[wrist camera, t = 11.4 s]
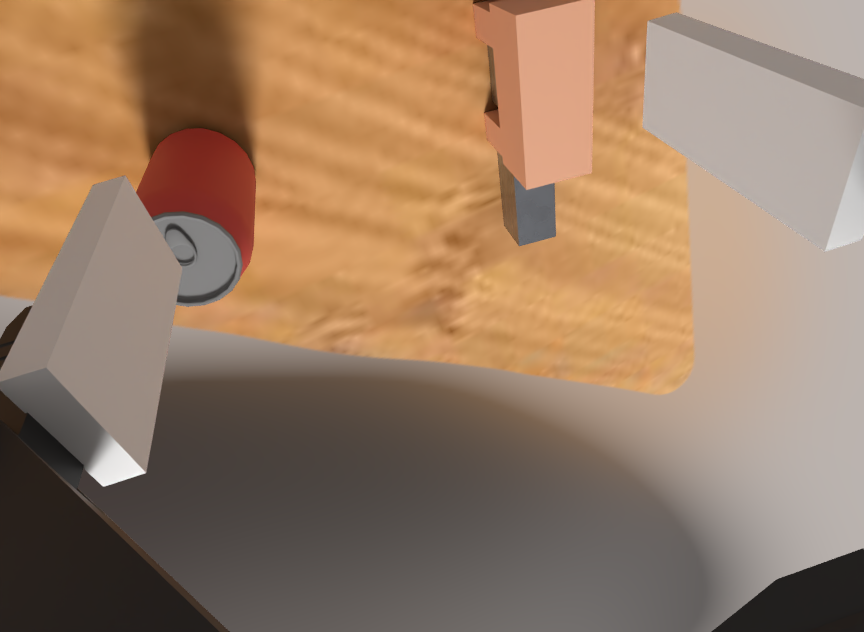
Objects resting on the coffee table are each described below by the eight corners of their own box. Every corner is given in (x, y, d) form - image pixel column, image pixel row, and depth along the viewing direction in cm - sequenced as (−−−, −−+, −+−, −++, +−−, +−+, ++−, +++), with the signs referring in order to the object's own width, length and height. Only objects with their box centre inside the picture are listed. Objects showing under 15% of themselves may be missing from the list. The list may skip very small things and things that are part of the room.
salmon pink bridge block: (472, -6, 36) (515, 15, 29) (537, -21, 36) (594, -3, 30) (487, 146, 42) (526, 190, 36) (543, 132, 42) (591, 172, 36)
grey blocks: (469, -151, 31) (488, -155, 29) (520, -161, 32) (544, -166, 29) (504, 225, 46) (519, 246, 43) (538, 216, 46) (555, 236, 44)
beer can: (238, 116, 37) (229, 191, 27) (267, 207, 41) (267, 300, 31) (134, 134, 36) (87, 218, 27) (173, 226, 40) (145, 327, 31)
